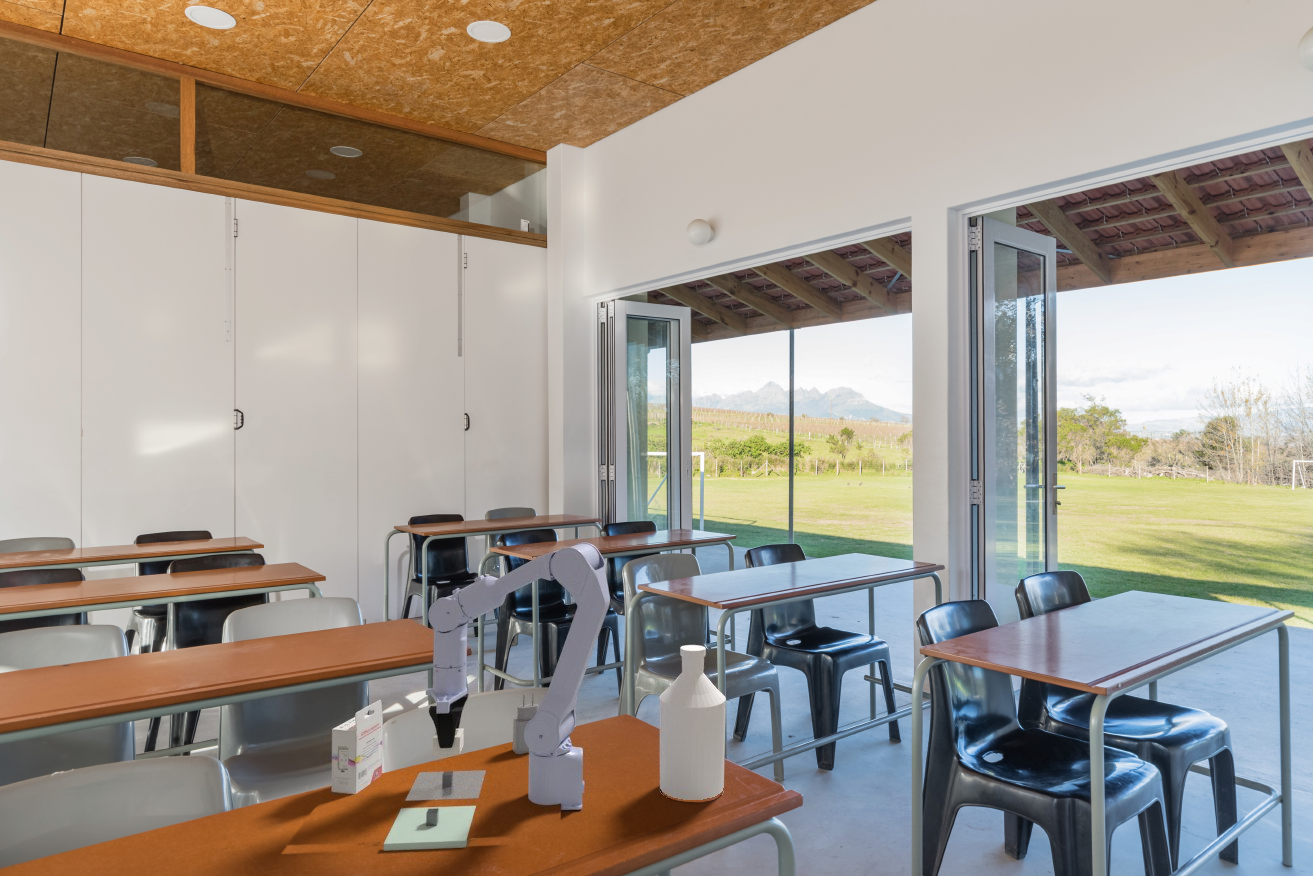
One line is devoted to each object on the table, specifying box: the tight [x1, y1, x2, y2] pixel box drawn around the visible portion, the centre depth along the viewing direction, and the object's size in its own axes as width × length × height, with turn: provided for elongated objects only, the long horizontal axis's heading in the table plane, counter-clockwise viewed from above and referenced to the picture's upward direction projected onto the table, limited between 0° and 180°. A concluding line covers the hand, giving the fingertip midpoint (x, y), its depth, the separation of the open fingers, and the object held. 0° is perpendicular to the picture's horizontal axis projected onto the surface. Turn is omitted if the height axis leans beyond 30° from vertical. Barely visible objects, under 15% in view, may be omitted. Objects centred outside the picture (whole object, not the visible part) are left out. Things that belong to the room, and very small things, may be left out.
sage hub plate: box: [383, 805, 477, 852], centre depth 122 cm, size 12×12×3 cm
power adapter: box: [512, 692, 540, 755], centre depth 154 cm, size 3×5×12 cm, turn 118°
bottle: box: [659, 644, 727, 800], centre depth 139 cm, size 12×12×25 cm
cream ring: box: [432, 727, 465, 756], centre depth 137 cm, size 5×5×3 cm
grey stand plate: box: [405, 769, 487, 802], centre depth 137 cm, size 12×12×3 cm
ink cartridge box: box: [331, 699, 384, 795], centre depth 138 cm, size 9×5×15 cm, turn 168°
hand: (448, 742), depth 137 cm, fingers closed on cream ring, 5 cm apart
